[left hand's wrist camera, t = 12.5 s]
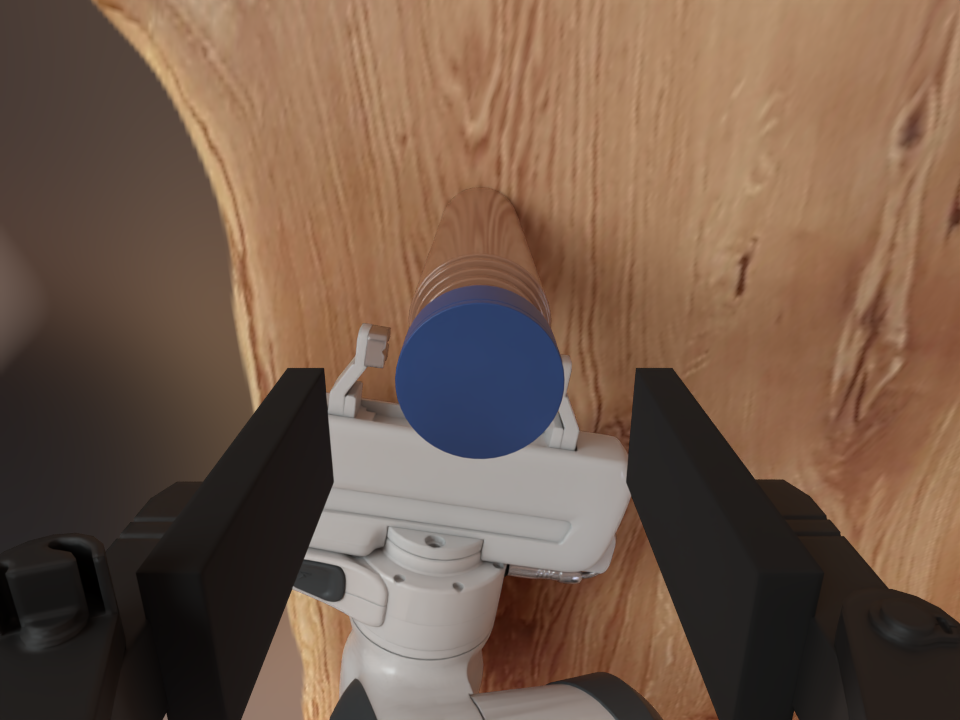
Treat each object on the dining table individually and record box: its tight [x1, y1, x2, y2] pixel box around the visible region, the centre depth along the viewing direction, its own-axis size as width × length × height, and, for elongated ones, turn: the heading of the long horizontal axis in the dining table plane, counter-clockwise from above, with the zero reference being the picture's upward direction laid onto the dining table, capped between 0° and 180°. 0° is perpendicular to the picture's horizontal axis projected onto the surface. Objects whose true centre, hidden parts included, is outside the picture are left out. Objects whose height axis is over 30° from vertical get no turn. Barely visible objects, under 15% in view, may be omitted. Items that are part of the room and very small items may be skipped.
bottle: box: [409, 187, 551, 328], centre depth 28 cm, size 4×4×23 cm
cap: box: [395, 285, 565, 459], centre depth 17 cm, size 4×4×2 cm
